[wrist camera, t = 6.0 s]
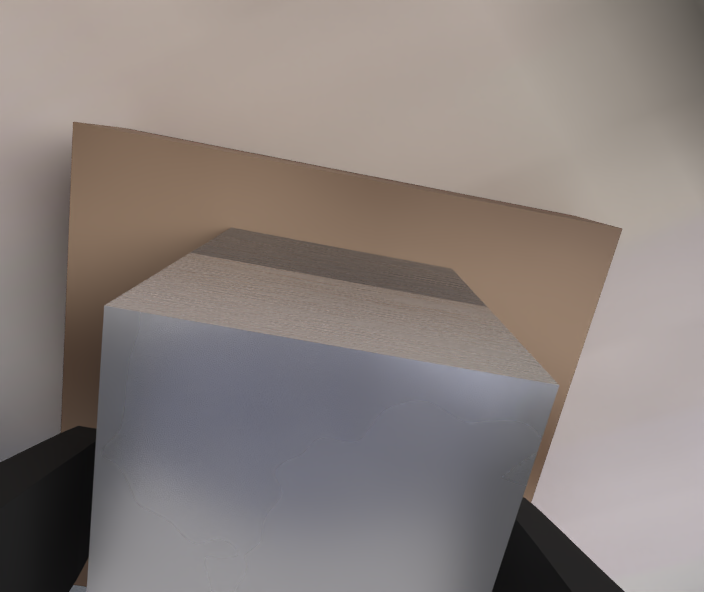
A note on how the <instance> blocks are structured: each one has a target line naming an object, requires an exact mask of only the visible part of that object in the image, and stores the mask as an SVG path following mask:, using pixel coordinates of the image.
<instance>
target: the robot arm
mask: <svg viewBox="0 0 704 592" xmlns="http://www.w3.org/2000/svg"><path fill="white" fill-rule="evenodd" d="M96 431H97V429H96V428H90V427H83V426H76V427H74V428H71V429H69V430H67V431H64V432H62V433H60V434H58V435H56V436H54V437H52V438H50V439H48V440H45V441H43V442H41V443H39V444H37V445H35V446H33V447H31V448H29V449H27V450H25V451H23V452H21V453H19V454H17V455H15V456H13V457H11V458H9V459H7V460H5V461H2V462H0V592H69V591H70V589H71V588H72V586H73V585H74V583H75V582H76V580H77V578H78V576H79V575H80V573H81V571H82V569H83V567H84V565H85V563H86V561H87V560H88V558H89V545H90V529H91V513H92V497H93V480H94V464H95V448H96ZM492 592H624V591H623V590H622V589H621V588H620V587H619V586H618V585H617V584H616V583H615V582H614V581H613V580H612V579H611V578H609V577H608V576H607V575H606V574H605V573H604V572H603V571H602V570H601V569H600V568H599V567H598V566H597V565H596V564H595V563H594V562H593V561H592V560H591V559H590V558H589V557H587V556H586V555H585V554H584V553H583V552H582V551H581V550H580V549H579V548H578V547H577V546H576V545H575V544H574V543H573V542H572V541H571V540H570V539H569V538H568V537H567V536H566V535H565V534H564V533H563V532H562V531H561V530H560V529H559V528H558V527H557V526H555V525H554V524H553V523H552V522H551V521H550V520H549V519H548V518H547V517H546V516H545V515H544V514H543V513H542V512H541V511H540V510H539V509H537V508H536V507H535V506H534V505H533V504H532V503H531V502H529V501H528V500H527V499H526V498H524V497H523V498H522V501H521V504H520V507H519V510H518V513H517V516H516V519H515V522H514V525H513V528H512V531H511V534H510V538H509V541H508V544H507V547H506V550H505V553H504V556H503V559H502V562H501V565H500V568H499V571H498V574H497V577H496V580H495V583H494V586H493V589H492Z"/></svg>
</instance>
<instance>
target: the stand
mask: <svg viewBox="0 0 704 592" xmlns="http://www.w3.org/2000/svg"><path fill="white" fill-rule="evenodd" d="M231 227H232V228H237V229H243V230H248V231H253V232H259V233H264V234H269V235H275V236H280V237H286V238H291V239H296V240H302V241H307V242H312V243H318V244H323V245H328V246H334V247H339V248H344V249H350V250H355V251H361V252H366V253H371V254H377V255H382V256H387V257H393V258H398V259H403V260H409V261H414V262H419V263H425V264H430V265H436V266H441V267H446V268H452V269H453V270H454V271H455V272H456V273H457V274H458V276H459V277H460V278H461V279H462V280H463V281H464V282H465V283H466V284H467V285H468V286H469V288H470V289H471V290H472V291H473V292H474V293H475V294H476V295H477V296H478V297H479V298H480V300H481V301H482V302H483V303H484V304H485V305H486V306H487V307H488V308H489V309H490V310H491V311H492V313H493V314H494V315H495V316H496V317H497V318H498V319H499V320H500V321H501V322H502V323H503V325H504V326H505V327H506V328H507V329H508V330H509V331H510V332H511V333H512V334H513V335H514V337H515V338H516V339H517V340H518V341H519V342H520V343H521V344H522V345H523V346H524V347H525V348H526V350H527V351H528V352H529V353H530V354H531V355H532V356H533V357H534V358H535V359H536V360H537V362H538V363H539V364H540V365H541V366H542V367H543V368H544V369H545V370H546V371H547V372H548V374H549V375H550V376H551V377H552V378H553V379H554V380H555V381H556V382H557V383H558V384H559V388H558V391H557V394H556V397H555V400H554V403H553V406H552V409H551V412H550V415H549V418H548V422H547V425H546V428H545V431H544V434H543V437H542V440H541V443H540V446H539V449H538V452H537V455H536V458H535V461H534V464H533V467H532V470H531V473H530V476H529V480H528V483H527V486H526V489H525V492H524V495H523V497H524V498H526V499H527V500H528V501H529V502H531V501H532V498H533V495H534V492H535V489H536V486H537V483H538V480H539V477H540V474H541V471H542V468H543V465H544V462H545V459H546V456H547V453H548V450H549V447H550V444H551V441H552V438H553V435H554V432H555V429H556V426H557V423H558V420H559V417H560V414H561V411H562V408H563V405H564V402H565V399H566V396H567V393H568V390H569V387H570V384H571V381H572V378H573V375H574V372H575V369H576V366H577V363H578V360H579V357H580V354H581V351H582V348H583V345H584V342H585V339H586V336H587V333H588V330H589V327H590V324H591V321H592V318H593V315H594V312H595V309H596V306H597V303H598V300H599V297H600V294H601V291H602V288H603V285H604V282H605V279H606V276H607V273H608V270H609V267H610V264H611V261H612V258H613V255H614V252H615V249H616V246H617V243H618V240H619V237H620V234H621V231H622V228H618V227H614V226H610V225H607V224H603V223H599V222H595V221H592V220H588V219H584V218H580V217H577V216H572V215H567V214H562V213H557V212H552V211H547V210H542V209H536V208H531V207H526V206H521V205H516V204H511V203H506V202H501V201H495V200H490V199H485V198H480V197H475V196H470V195H465V194H460V193H454V192H449V191H444V190H439V189H434V188H429V187H424V186H419V185H413V184H408V183H403V182H398V181H393V180H388V179H383V178H378V177H372V176H367V175H362V174H357V173H352V172H347V171H342V170H337V169H331V168H326V167H321V166H316V165H311V164H306V163H301V162H296V161H290V160H285V159H280V158H275V157H270V156H265V155H260V154H255V153H249V152H244V151H239V150H234V149H229V148H224V147H219V146H214V145H208V144H203V143H198V142H193V141H188V140H183V139H178V138H173V137H167V136H162V135H157V134H152V133H147V132H142V131H137V130H132V129H126V128H119V127H111V126H103V125H95V124H87V123H79V122H73V137H72V162H71V188H70V213H69V238H68V263H67V289H66V314H65V339H64V364H63V390H62V415H61V433H62V432H64V431H67V430H69V429H71V428H74V427H76V426H83V427H90V428H96V429H97V415H98V399H99V382H100V366H101V350H102V333H103V317H104V305H106V304H108V303H109V302H111V301H112V300H114V299H116V298H117V297H119V296H121V295H122V294H124V293H125V292H127V291H129V290H130V289H132V288H134V287H135V286H137V285H139V284H140V283H142V282H143V281H145V280H147V279H148V278H150V277H152V276H153V275H155V274H156V273H158V272H160V271H161V270H163V269H165V268H166V267H168V266H169V265H171V264H173V263H174V262H176V261H178V260H179V259H181V258H183V257H184V256H186V255H187V254H189V253H191V252H192V251H194V250H196V249H197V248H199V247H200V246H202V245H204V244H205V243H207V242H209V241H210V240H212V239H213V238H215V237H217V236H218V235H220V234H222V233H223V232H225V231H227V230H228V229H230V228H231ZM88 562H89V558H88V560H87V561H86V563H85V565H84V567H83V569H82V571H81V573H80V575H79V576H78V578H77V580H76V582H75V583H74V585H79V586H86V587H87V578H88Z"/></svg>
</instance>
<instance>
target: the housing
mask: <svg viewBox="0 0 704 592" xmlns="http://www.w3.org/2000/svg"><path fill="white" fill-rule="evenodd" d="M558 388H559V384H558V383H557V382H556V381H555V380H554V379H553V378H552V377H551V376H550V375H549V374H548V372H547V371H546V370H545V369H544V368H543V367H542V366H541V365H540V364H539V363H538V362H537V360H536V359H535V358H534V357H533V356H532V355H531V354H530V353H529V352H528V351H527V350H526V348H525V347H524V346H523V345H522V344H521V343H520V342H519V341H518V340H517V339H516V338H515V337H514V335H513V334H512V333H511V332H510V331H509V330H508V329H507V328H506V327H505V326H504V325H503V323H502V322H501V321H500V320H499V319H498V318H497V317H496V316H495V315H494V314H493V313H492V311H491V310H490V309H489V308H488V307H487V306H486V305H485V304H484V303H483V302H482V301H481V300H480V298H479V297H478V296H477V295H476V294H475V293H474V292H473V291H472V290H471V289H470V288H469V286H468V285H467V284H466V283H465V282H464V281H463V280H462V279H461V278H460V277H459V276H458V274H457V273H456V272H455V271H454V270H453V269H452V268H446V267H441V266H436V265H430V264H425V263H419V262H414V261H409V260H403V259H398V258H393V257H387V256H382V255H377V254H371V253H366V252H361V251H355V250H350V249H344V248H339V247H334V246H328V245H323V244H318V243H312V242H307V241H302V240H296V239H291V238H286V237H280V236H275V235H269V234H264V233H259V232H253V231H248V230H243V229H237V228H232V227H231V228H230V229H228V230H227V231H225V232H223V233H222V234H220V235H218V236H217V237H215V238H213V239H212V240H210V241H209V242H207V243H205V244H204V245H202V246H200V247H199V248H197V249H196V250H194V251H192V252H191V253H189V254H187V255H186V256H184V257H183V258H181V259H179V260H178V261H176V262H174V263H173V264H171V265H169V266H168V267H166V268H165V269H163V270H161V271H160V272H158V273H156V274H155V275H153V276H152V277H150V278H148V279H147V280H145V281H143V282H142V283H140V284H139V285H137V286H135V287H134V288H132V289H130V290H129V291H127V292H125V293H124V294H122V295H121V296H119V297H117V298H116V299H114V300H112V301H111V302H109V303H108V304H106V305H104V317H103V333H102V350H101V366H100V382H99V399H98V415H97V431H96V448H95V464H94V480H93V497H92V513H91V529H90V545H89V562H88V578H87V592H492V589H493V586H494V583H495V580H496V577H497V574H498V571H499V568H500V565H501V562H502V559H503V556H504V553H505V550H506V547H507V544H508V541H509V538H510V534H511V531H512V528H513V525H514V522H515V519H516V516H517V513H518V510H519V507H520V504H521V501H522V498H523V495H524V492H525V489H526V486H527V483H528V480H529V476H530V473H531V470H532V467H533V464H534V461H535V458H536V455H537V452H538V449H539V446H540V443H541V440H542V437H543V434H544V431H545V428H546V425H547V422H548V418H549V415H550V412H551V409H552V406H553V403H554V400H555V397H556V394H557V391H558Z"/></svg>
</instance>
